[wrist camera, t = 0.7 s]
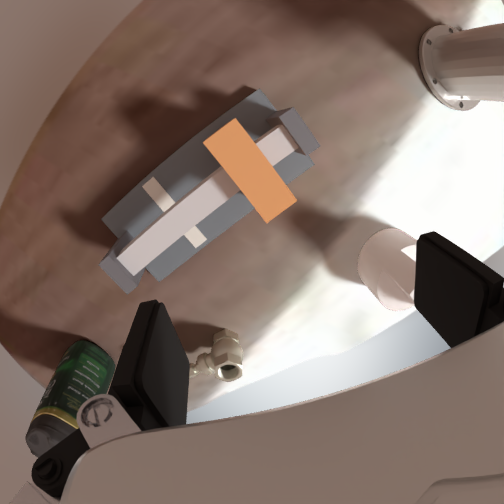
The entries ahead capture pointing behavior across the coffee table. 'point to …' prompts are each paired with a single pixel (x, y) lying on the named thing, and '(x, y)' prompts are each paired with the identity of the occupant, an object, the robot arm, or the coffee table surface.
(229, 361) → the valve
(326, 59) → the coffee table surface
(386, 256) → the cylinder with rectangular tab
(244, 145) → the orange rectangular prism
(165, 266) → the slider rail fixture
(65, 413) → the coffee jar
